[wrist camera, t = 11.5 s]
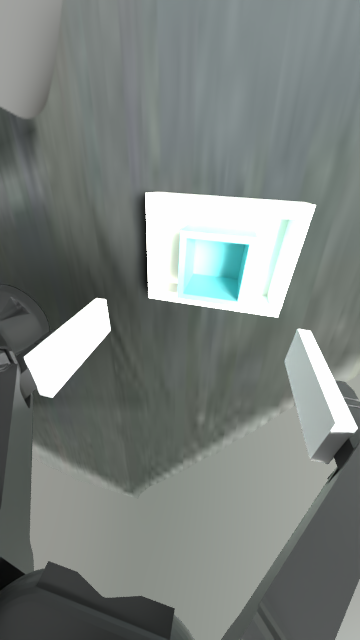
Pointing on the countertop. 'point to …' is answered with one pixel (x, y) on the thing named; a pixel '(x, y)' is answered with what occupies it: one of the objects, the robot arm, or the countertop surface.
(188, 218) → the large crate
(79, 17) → the countertop surface
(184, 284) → the small crate
